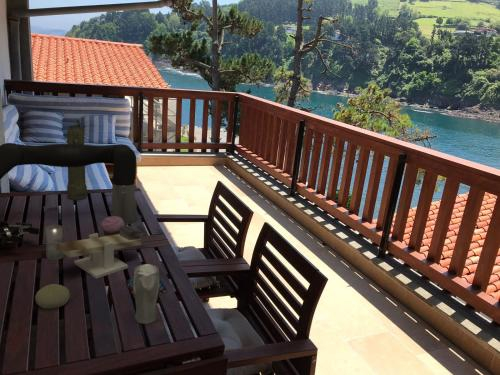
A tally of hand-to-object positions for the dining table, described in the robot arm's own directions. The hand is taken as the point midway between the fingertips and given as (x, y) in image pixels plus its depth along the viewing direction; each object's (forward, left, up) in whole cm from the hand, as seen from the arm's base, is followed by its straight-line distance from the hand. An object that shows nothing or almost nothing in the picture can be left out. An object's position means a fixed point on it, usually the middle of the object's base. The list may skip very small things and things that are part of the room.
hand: (30, 235), depth 158 cm
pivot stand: (-13, +24, -6) cm, 28 cm away
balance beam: (-13, +24, +2) cm, 27 cm away
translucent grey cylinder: (-5, +8, -6) cm, 11 cm away
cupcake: (-28, +8, -7) cm, 29 cm away
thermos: (-43, -48, -7) cm, 64 cm away
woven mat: (-16, +46, -7) cm, 49 cm away
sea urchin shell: (+9, +36, -7) cm, 38 cm away
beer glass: (-6, +60, -7) cm, 61 cm away
